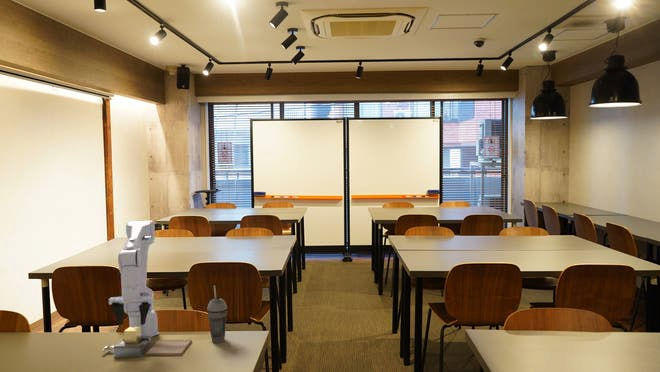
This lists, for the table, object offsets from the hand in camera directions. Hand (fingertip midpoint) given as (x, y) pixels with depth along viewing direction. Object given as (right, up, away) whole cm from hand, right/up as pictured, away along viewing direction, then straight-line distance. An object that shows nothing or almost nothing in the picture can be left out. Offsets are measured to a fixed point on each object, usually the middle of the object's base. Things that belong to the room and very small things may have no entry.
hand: (132, 324), depth 162 cm
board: (+12, -9, +3) cm, 15 cm away
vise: (-2, -10, +1) cm, 10 cm away
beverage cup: (+27, -9, +9) cm, 30 cm away
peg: (0, -10, +1) cm, 10 cm away
